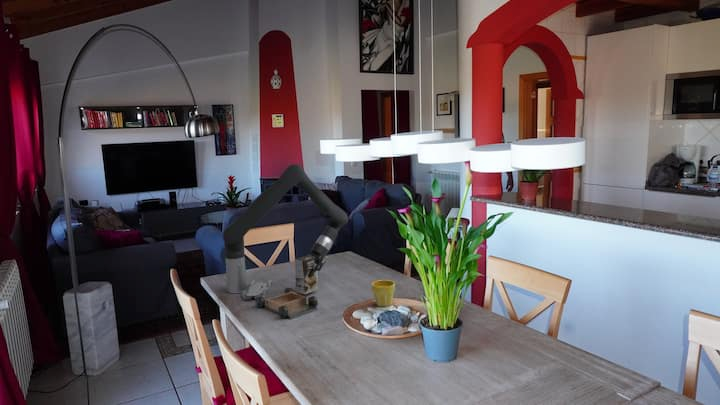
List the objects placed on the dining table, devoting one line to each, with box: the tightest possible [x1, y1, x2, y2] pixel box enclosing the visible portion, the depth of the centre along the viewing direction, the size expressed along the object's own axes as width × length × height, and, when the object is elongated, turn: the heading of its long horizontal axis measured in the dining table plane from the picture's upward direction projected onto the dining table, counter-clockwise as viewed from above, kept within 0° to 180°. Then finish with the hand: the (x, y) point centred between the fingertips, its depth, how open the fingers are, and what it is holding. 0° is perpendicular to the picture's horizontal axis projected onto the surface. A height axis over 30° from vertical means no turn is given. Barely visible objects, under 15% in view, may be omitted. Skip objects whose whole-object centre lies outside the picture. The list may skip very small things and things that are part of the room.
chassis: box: [255, 286, 319, 320], centre depth 223 cm, size 26×17×5 cm, turn 43°
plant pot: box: [371, 279, 396, 308], centre depth 222 cm, size 10×10×10 cm
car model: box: [241, 279, 273, 301], centre depth 244 cm, size 11×24×5 cm, turn 179°
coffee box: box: [294, 255, 319, 295], centre depth 238 cm, size 9×6×16 cm
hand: (304, 275), depth 237 cm, fingers closed on coffee box, 7 cm apart
